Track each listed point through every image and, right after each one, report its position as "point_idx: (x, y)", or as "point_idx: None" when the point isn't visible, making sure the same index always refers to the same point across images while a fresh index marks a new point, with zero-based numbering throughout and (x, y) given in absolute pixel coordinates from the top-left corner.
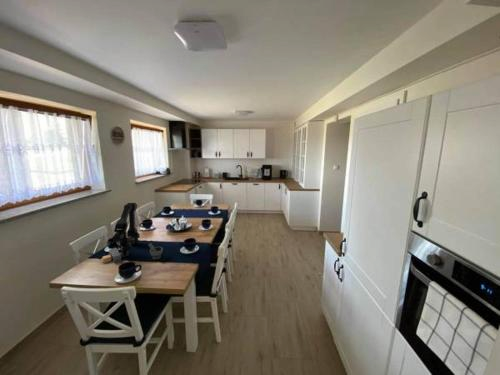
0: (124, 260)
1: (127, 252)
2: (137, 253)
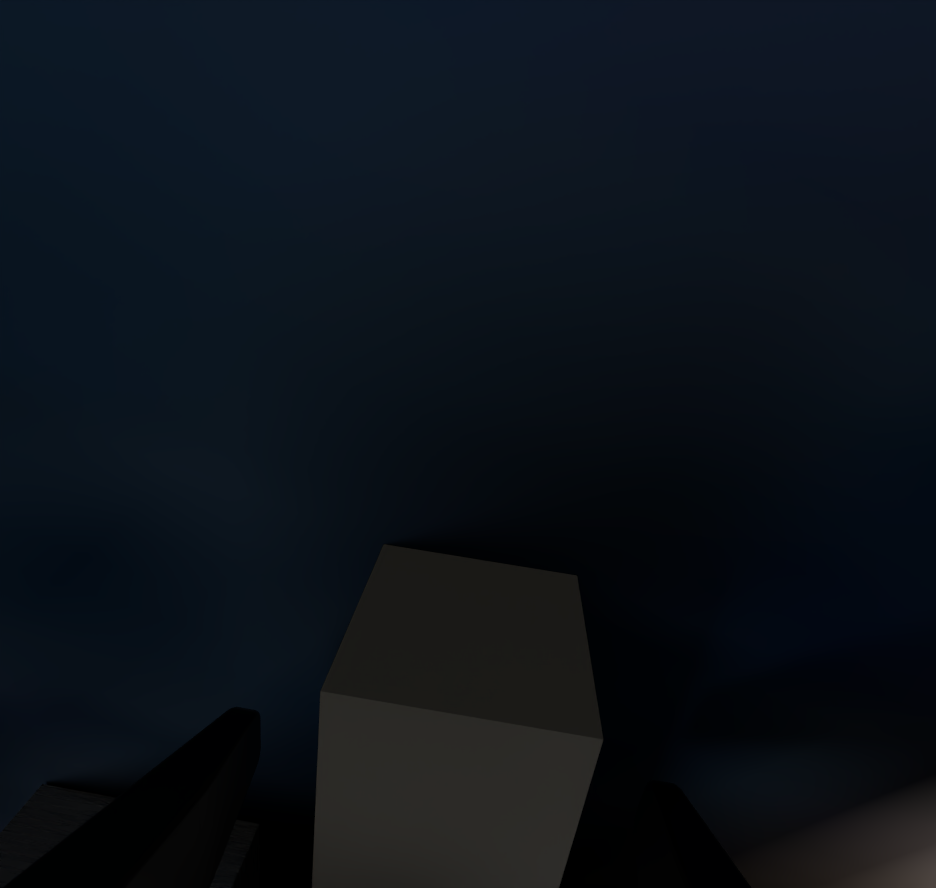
0: (915, 862)
1: (587, 772)
2: (834, 124)
